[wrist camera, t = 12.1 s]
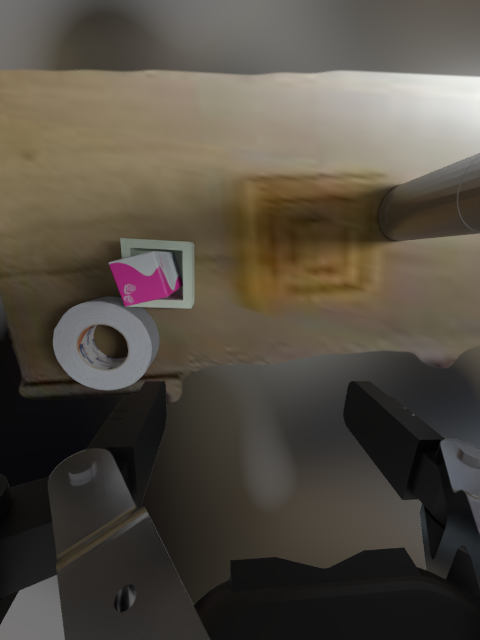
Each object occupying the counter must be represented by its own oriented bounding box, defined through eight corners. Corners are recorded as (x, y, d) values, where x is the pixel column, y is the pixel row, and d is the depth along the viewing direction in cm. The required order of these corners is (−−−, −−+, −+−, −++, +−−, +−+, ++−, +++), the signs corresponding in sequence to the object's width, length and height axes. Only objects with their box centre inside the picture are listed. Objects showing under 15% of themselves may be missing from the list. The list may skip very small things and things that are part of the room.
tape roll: (51, 332, 41) (29, 342, 37) (116, 277, 40) (101, 280, 35) (116, 391, 45) (104, 407, 40) (177, 343, 44) (171, 354, 39)
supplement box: (138, 260, 38) (106, 260, 27) (173, 251, 39) (156, 248, 28) (149, 294, 40) (123, 307, 29) (184, 286, 40) (170, 296, 29)
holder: (194, 244, 40) (191, 241, 35) (194, 302, 42) (191, 308, 37) (132, 240, 39) (120, 238, 34) (136, 300, 41) (125, 306, 36)
